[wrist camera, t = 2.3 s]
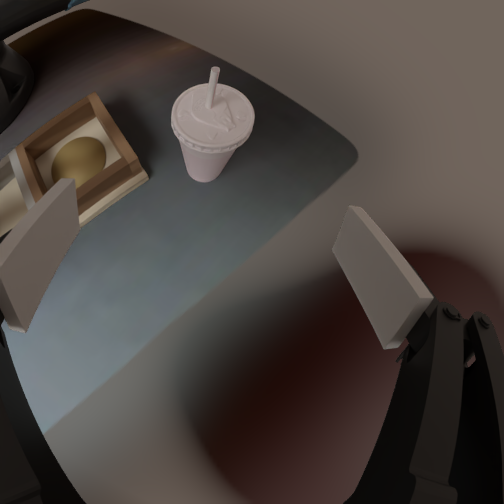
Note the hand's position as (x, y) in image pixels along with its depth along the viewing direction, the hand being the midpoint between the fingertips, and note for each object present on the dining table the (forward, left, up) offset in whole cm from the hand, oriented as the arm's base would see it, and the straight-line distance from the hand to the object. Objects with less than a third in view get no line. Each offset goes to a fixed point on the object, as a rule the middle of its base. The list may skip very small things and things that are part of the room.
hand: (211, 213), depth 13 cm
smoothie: (-8, +6, -15) cm, 18 cm away
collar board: (-16, -10, -15) cm, 24 cm away
